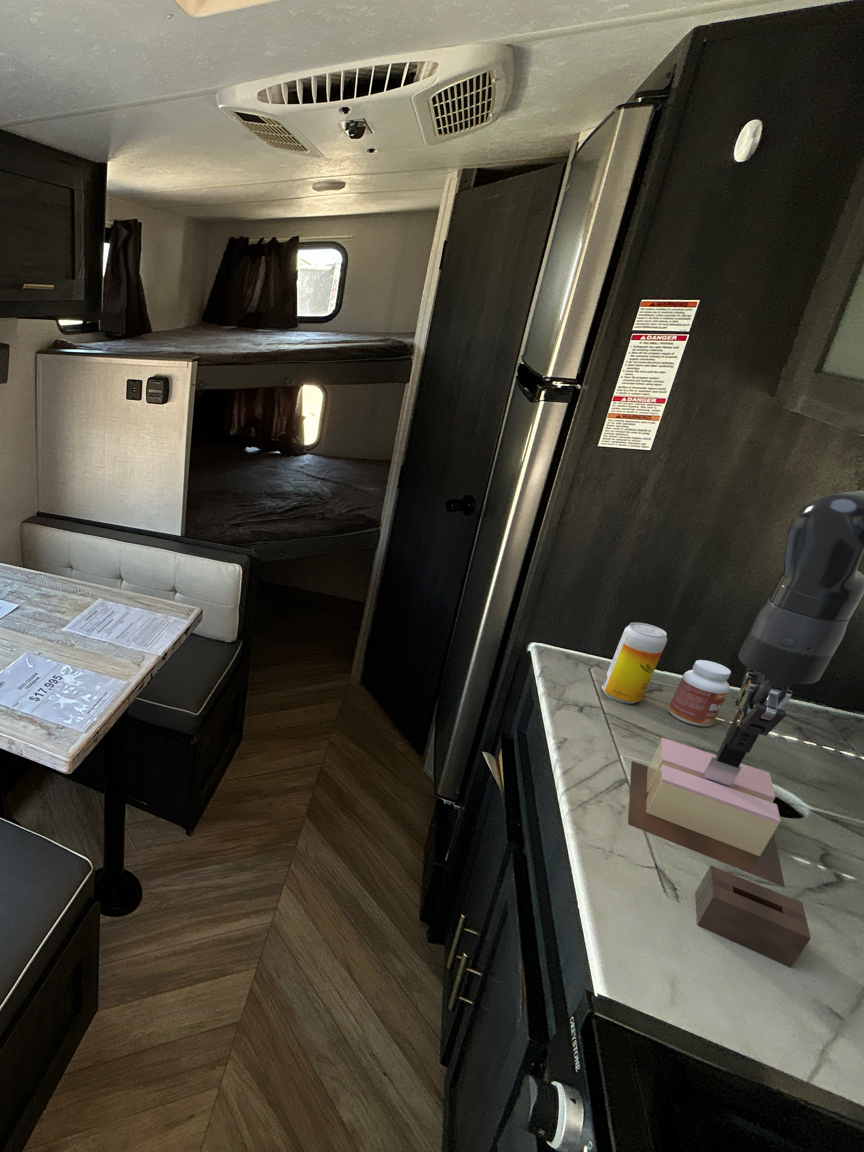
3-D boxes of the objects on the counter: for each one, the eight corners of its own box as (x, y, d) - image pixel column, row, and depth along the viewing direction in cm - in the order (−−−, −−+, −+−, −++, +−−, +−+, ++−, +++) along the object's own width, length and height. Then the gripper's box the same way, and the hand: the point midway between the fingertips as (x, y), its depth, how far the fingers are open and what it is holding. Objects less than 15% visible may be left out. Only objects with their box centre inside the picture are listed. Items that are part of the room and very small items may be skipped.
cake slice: (756, 839, 90) (777, 804, 87) (759, 856, 87) (781, 821, 84) (646, 797, 97) (662, 764, 94) (646, 812, 94) (662, 778, 92)
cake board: (765, 813, 95) (768, 808, 95) (782, 892, 83) (785, 887, 82) (629, 765, 105) (631, 760, 105) (625, 829, 93) (627, 824, 92)
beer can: (644, 709, 119) (673, 640, 113) (603, 699, 122) (630, 632, 116) (636, 692, 124) (664, 626, 118) (597, 683, 127) (623, 618, 121)
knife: (715, 811, 93) (765, 717, 86) (716, 817, 92) (767, 723, 85) (688, 801, 95) (735, 708, 88) (688, 807, 94) (736, 714, 87)
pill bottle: (708, 732, 113) (733, 680, 109) (663, 715, 117) (686, 665, 113) (715, 719, 116) (740, 668, 112) (671, 703, 121) (694, 653, 117)
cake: (751, 806, 95) (769, 772, 93) (755, 832, 91) (775, 797, 88) (647, 769, 103) (662, 737, 100) (646, 792, 98) (662, 758, 96)
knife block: (780, 936, 77) (802, 902, 75) (787, 973, 73) (811, 938, 71) (692, 898, 82) (710, 864, 80) (693, 930, 78) (713, 896, 76)
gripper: (846, 671, 75) (781, 784, 81) (825, 628, 84) (768, 733, 91) (756, 649, 79) (702, 758, 86) (746, 611, 89) (697, 711, 96)
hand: (736, 744), depth 88 cm, fingers closed on knife, 1 cm apart
